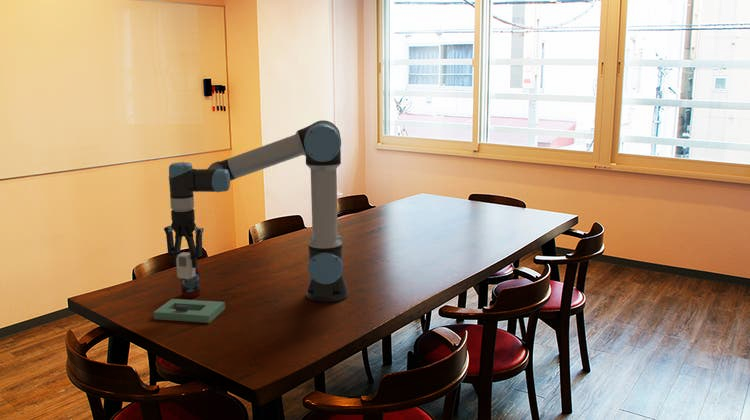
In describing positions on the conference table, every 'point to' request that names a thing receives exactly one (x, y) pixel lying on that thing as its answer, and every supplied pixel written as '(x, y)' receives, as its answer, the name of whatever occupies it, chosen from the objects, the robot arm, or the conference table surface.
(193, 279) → the beverage can
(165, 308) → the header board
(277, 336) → the conference table surface
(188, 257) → the plug
